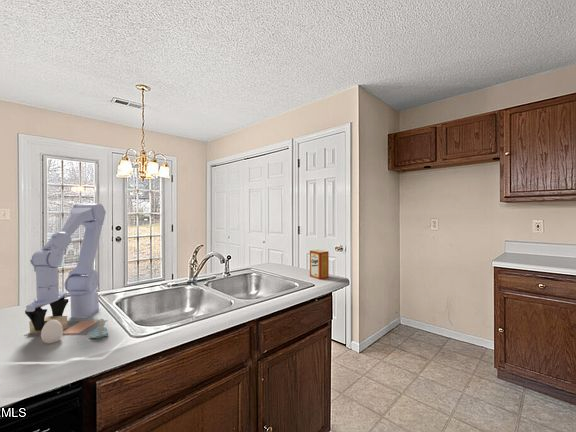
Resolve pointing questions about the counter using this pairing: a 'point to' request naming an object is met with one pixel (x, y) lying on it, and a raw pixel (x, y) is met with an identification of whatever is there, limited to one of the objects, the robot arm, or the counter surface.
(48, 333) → the egg
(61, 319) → the tan wooden block
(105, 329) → the pacifier
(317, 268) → the baking soda box
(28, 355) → the counter surface
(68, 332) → the terracotta strip
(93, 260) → the robot arm
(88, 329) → the rubber mat
